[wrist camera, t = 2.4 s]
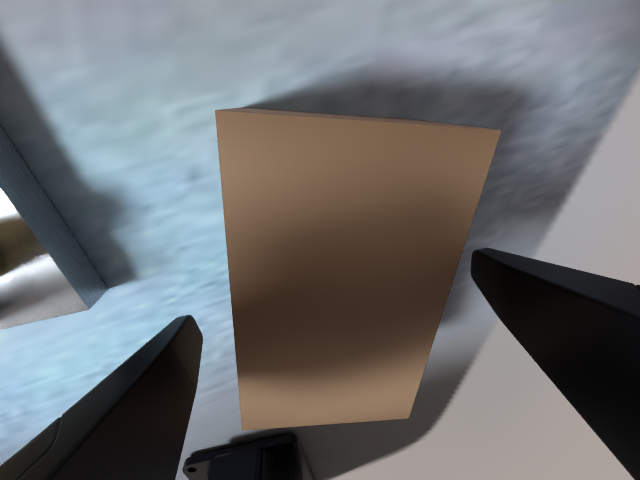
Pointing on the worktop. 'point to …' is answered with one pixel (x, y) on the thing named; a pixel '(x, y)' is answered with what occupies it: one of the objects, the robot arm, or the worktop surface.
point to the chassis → (37, 251)
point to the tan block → (341, 256)
